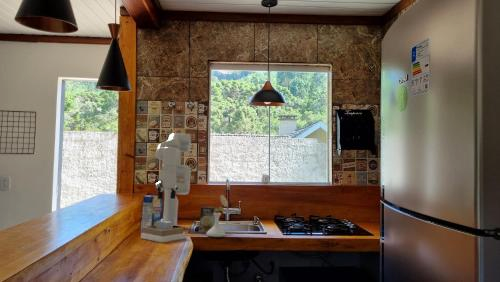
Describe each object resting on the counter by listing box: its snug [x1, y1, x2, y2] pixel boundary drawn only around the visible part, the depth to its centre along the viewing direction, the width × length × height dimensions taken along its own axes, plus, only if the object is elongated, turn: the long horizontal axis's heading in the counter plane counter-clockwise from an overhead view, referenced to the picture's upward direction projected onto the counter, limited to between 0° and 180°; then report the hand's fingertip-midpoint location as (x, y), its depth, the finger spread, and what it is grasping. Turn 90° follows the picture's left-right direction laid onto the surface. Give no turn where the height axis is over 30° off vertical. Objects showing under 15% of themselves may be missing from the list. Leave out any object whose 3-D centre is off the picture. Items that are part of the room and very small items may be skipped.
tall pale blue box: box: [156, 220, 174, 230], centre depth 195 cm, size 8×5×6 cm, turn 57°
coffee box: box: [198, 206, 217, 234], centre depth 222 cm, size 9×6×16 cm
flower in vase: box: [205, 194, 229, 238], centre depth 210 cm, size 13×11×25 cm
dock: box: [140, 225, 186, 243], centre depth 194 cm, size 16×18×6 cm
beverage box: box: [140, 194, 164, 235], centre depth 210 cm, size 7×11×22 cm, turn 164°
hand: (166, 198), depth 196 cm, fingers open, 9 cm apart
